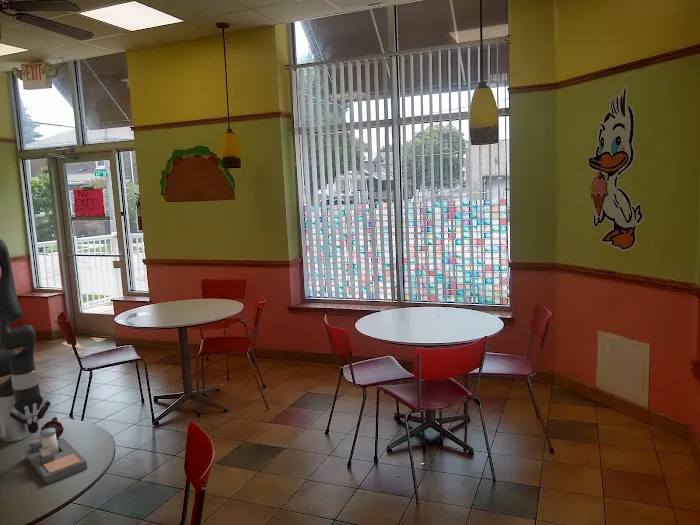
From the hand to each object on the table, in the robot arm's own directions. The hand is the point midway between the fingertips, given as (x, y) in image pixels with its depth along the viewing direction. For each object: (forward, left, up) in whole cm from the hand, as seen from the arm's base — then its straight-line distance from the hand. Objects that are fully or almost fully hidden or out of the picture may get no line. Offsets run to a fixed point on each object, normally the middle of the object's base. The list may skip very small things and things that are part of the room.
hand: (33, 432), depth 187 cm
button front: (+12, 0, -5) cm, 13 cm away
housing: (+11, +3, -9) cm, 14 cm away
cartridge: (+6, +3, -9) cm, 11 cm away
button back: (0, 0, -6) cm, 6 cm away
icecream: (-11, +8, -9) cm, 16 cm away
